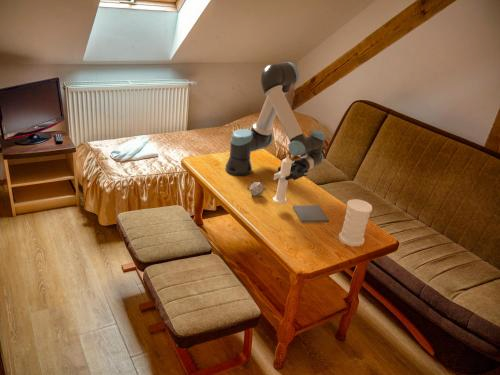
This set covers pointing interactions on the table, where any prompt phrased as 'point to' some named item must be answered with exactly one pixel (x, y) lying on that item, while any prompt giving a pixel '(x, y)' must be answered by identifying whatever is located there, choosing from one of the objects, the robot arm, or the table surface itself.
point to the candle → (283, 186)
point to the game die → (256, 188)
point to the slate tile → (310, 213)
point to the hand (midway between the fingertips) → (277, 178)
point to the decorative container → (355, 222)
